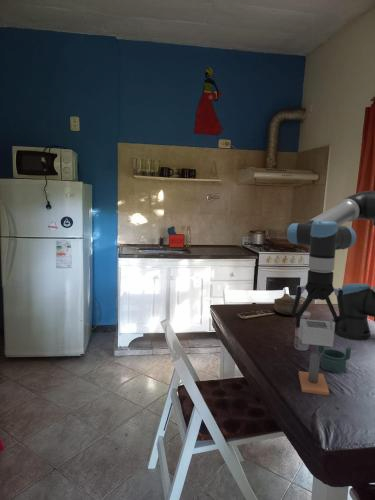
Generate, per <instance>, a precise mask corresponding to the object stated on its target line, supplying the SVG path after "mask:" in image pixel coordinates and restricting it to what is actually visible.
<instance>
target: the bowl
mask: <svg viewBox="0 0 375 500" xmlns="http://www.w3.org/2000/svg"><path fill="white" fill-rule="evenodd" d="M294 299H295V297H292V296H291V295H290V294H289V293H284V294H283V296H281V297H279V298H274V300H273V301H274V302H273V303H274V304H273V309H274V310H275V311H276V312H277V313H278V314H280V313H281V315H284V316H291V309H292V306H293V303H294ZM300 303H301V302H300V301H299V303H298V307H297V310H296V312H298V310H299V309H300V307H301V305H300Z"/></svg>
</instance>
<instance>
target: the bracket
mask: <svg viewBox="0 0 375 500" xmlns="http://www.w3.org/2000/svg"><path fill="white" fill-rule="evenodd" d="M351 351H352V347H350V346H346V348H345V352H344V351H341V350H338V349H333V348H325V346H322V345H318V350H317V352H319V353H320V354H321V357H320V366H321V368H322V369H324V370H326V371H328V372H330V373H331V372H332V373H343V372H345V371H346V365H347V360H350V359H351V354H352V352H351Z"/></svg>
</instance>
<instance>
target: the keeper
mask: <svg viewBox="0 0 375 500" xmlns="http://www.w3.org/2000/svg"><path fill="white" fill-rule="evenodd" d="M320 364H321V357H320V355H319V354H318V353H316V352H315V353H314V352H313V353H310V356H309V367H308V371H301V370H298V379H299V383H300V389H301V392H302V393H308V394H316V395H323V396H324V395H325V396H329V395H330V390H329V388H328V384H327V382H326V379H325V375H324V373H320Z"/></svg>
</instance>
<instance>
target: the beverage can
mask: <svg viewBox="0 0 375 500" xmlns="http://www.w3.org/2000/svg"><path fill="white" fill-rule="evenodd" d="M301 317H302V319H308V320H312V313H311V312H310V311H306V310H305V311H304V313H303V314H302V316H301ZM298 332H299V328H296V326H295V330H294V333H295V334H294V341H293V342H294V345H293V347H294V348H295V350H297V351H301V352H302V351H303V352H304V351H305V352H306V351H308V350H309V348H310V344H303V343H302V341H301V339H299V337H298Z"/></svg>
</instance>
